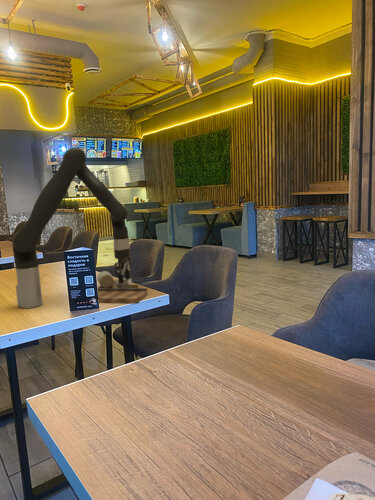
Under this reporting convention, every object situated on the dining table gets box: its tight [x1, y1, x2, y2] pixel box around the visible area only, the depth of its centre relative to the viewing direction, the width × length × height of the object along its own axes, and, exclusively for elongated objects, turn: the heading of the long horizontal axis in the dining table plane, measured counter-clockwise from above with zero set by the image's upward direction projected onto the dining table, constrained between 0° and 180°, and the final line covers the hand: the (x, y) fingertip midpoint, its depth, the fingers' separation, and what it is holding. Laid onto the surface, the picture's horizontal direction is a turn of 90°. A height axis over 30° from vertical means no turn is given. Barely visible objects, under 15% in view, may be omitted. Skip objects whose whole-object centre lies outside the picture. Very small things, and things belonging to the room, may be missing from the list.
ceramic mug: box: [96, 270, 117, 288], centre depth 199 cm, size 11×8×8 cm
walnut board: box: [97, 287, 148, 304], centre depth 174 cm, size 24×14×3 cm, turn 77°
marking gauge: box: [116, 277, 141, 288], centre depth 187 cm, size 4×10×6 cm, turn 77°
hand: (124, 280), depth 188 cm, fingers open, 8 cm apart
